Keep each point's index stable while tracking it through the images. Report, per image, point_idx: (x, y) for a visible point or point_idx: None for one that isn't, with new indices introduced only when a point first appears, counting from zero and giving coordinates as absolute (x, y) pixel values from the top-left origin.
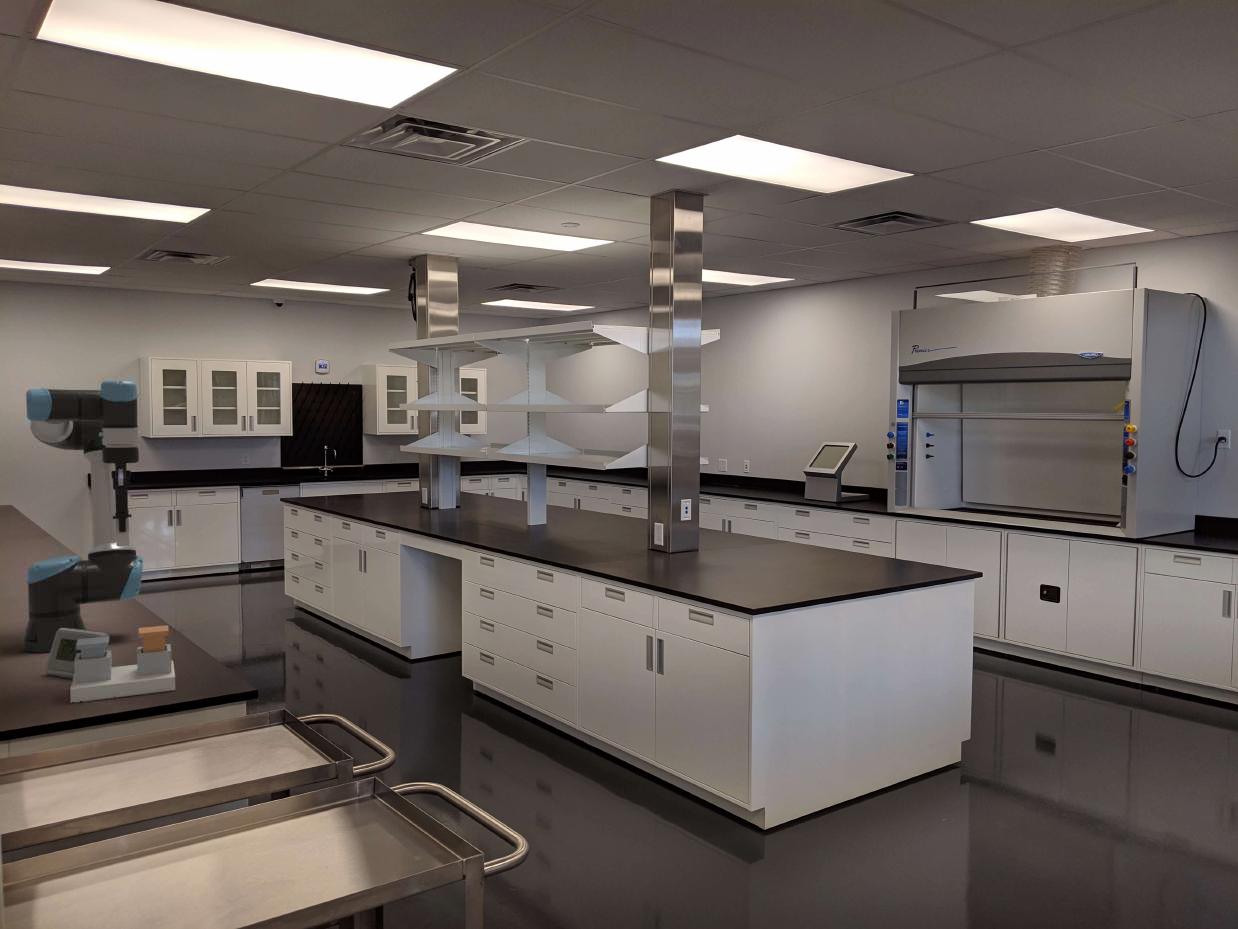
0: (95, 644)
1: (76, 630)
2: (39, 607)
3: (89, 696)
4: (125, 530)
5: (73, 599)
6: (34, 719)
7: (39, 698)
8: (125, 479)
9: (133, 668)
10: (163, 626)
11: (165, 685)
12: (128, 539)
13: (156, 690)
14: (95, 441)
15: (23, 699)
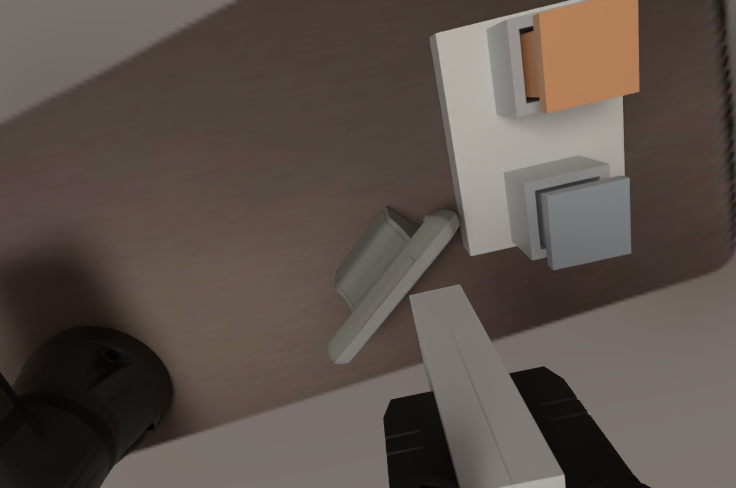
0: (628, 208)
1: (380, 315)
2: (99, 481)
3: None
4: (557, 379)
5: (41, 429)
6: (691, 246)
7: (546, 282)
8: None
9: (489, 126)
10: (554, 26)
11: None
12: (474, 313)
13: None
14: None
15: (541, 307)
